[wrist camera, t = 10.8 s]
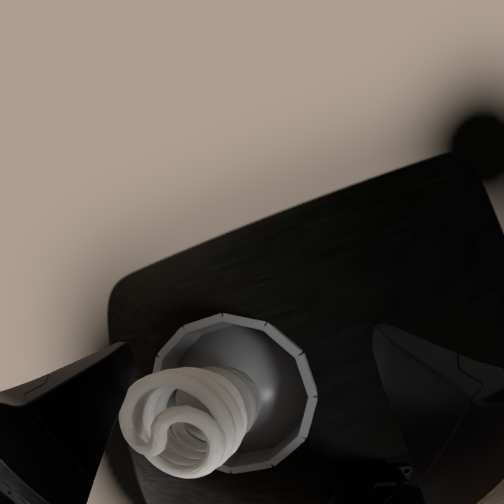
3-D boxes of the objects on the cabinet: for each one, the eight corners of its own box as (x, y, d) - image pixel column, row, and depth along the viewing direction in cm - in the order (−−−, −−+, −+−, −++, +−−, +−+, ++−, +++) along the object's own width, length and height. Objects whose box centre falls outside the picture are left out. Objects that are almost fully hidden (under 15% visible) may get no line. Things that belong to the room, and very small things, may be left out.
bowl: (293, 468, 17) (290, 487, 13) (162, 429, 20) (141, 438, 17) (328, 334, 20) (331, 332, 17) (187, 306, 23) (168, 300, 20)
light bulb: (219, 433, 19) (135, 495, 7) (192, 374, 21) (87, 388, 10) (283, 411, 18) (246, 481, 7) (253, 349, 20) (183, 351, 9)
